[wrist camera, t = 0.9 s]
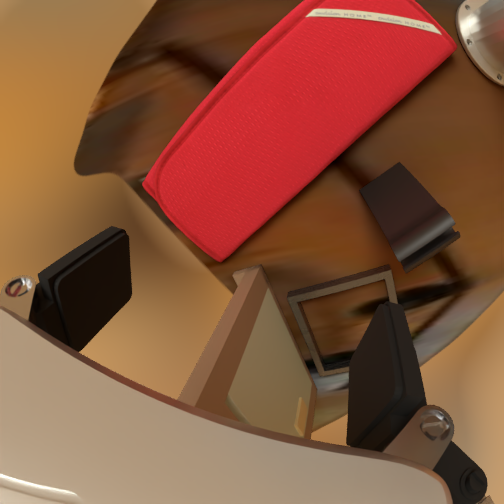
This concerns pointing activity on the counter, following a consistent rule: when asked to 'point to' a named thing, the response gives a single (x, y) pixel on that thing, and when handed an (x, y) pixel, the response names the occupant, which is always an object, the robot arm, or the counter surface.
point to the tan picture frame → (254, 364)
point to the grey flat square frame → (330, 288)
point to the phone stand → (409, 216)
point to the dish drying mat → (290, 113)
